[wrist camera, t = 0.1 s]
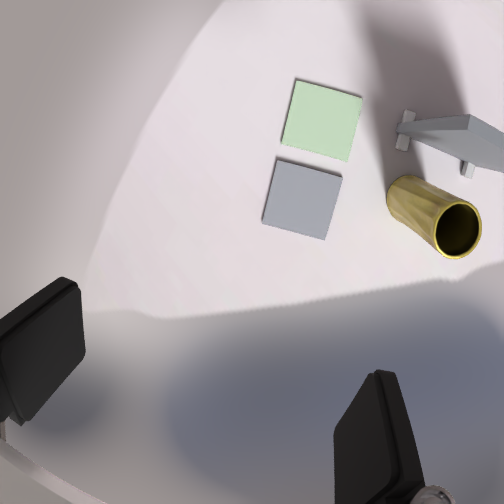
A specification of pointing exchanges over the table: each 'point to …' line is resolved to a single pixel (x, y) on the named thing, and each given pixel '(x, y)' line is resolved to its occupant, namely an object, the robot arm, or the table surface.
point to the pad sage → (322, 120)
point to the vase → (435, 216)
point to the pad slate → (301, 200)
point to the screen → (456, 139)
